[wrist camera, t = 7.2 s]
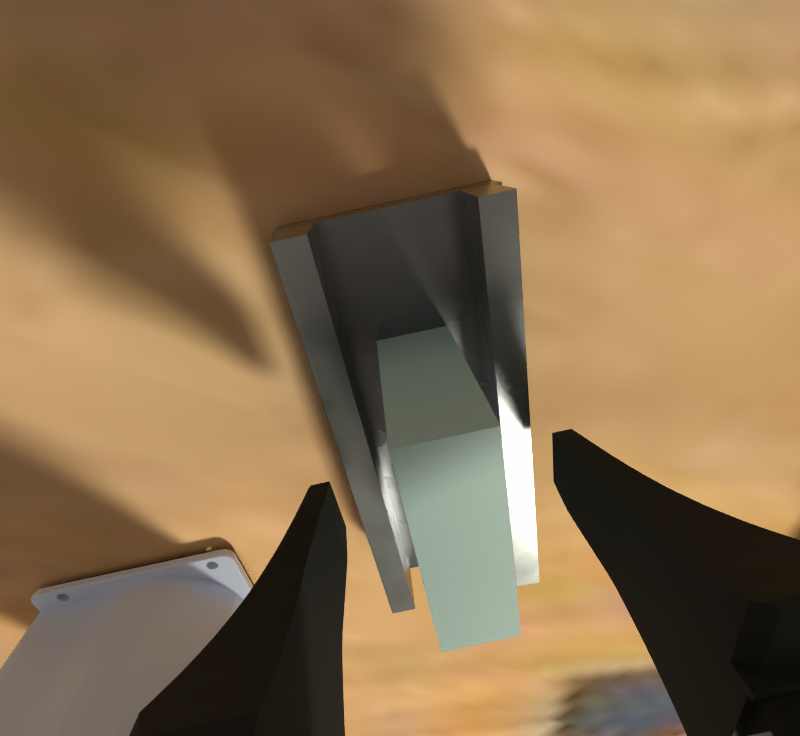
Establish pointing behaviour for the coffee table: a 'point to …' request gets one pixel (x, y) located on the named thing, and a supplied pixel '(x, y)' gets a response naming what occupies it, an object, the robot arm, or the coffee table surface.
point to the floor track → (404, 314)
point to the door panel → (451, 486)
